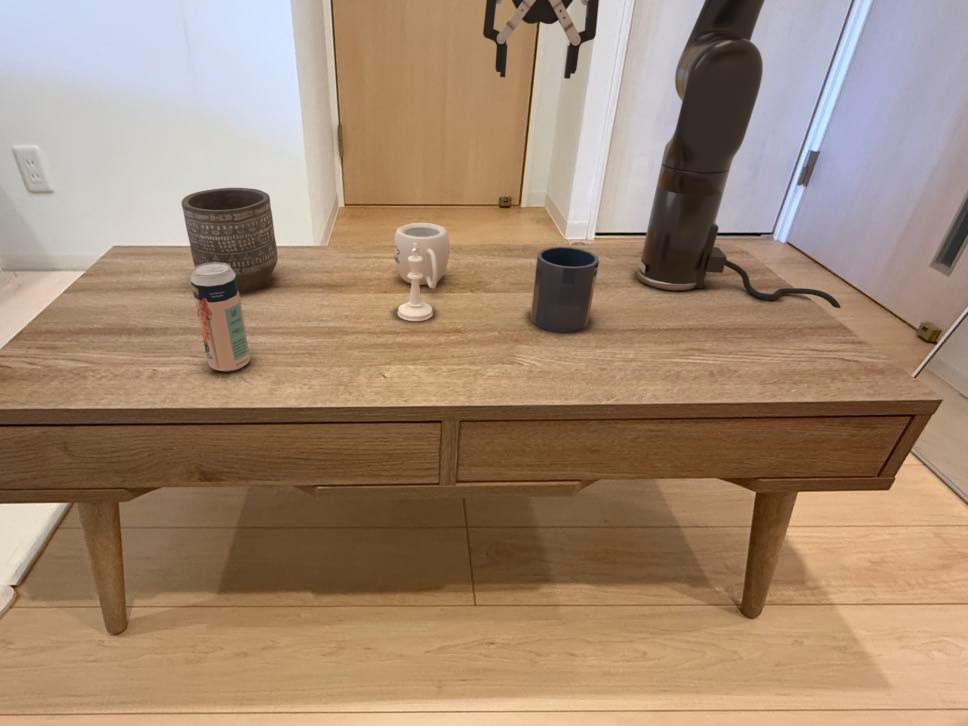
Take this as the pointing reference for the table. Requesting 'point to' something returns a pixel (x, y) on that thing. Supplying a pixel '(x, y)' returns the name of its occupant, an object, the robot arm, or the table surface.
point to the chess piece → (415, 292)
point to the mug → (422, 251)
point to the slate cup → (563, 288)
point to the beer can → (220, 316)
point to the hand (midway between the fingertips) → (534, 77)
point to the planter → (233, 233)
